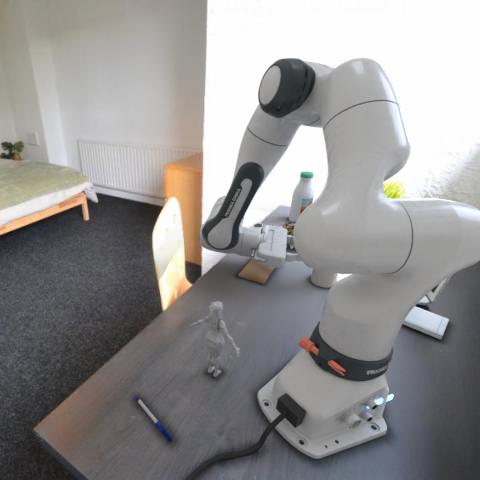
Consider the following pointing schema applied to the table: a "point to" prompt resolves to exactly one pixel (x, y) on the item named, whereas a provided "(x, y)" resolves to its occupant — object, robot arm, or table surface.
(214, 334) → the human figurine
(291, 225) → the passion flower
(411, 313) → the hard drive
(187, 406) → the table surface
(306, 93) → the robot arm
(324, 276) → the bottle
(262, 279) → the tan flat rectangular board
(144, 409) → the ballpoint pen
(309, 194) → the milk bottle
